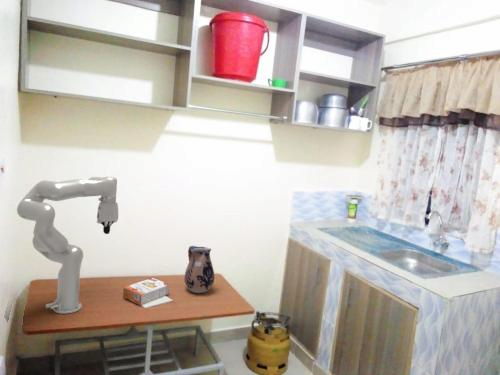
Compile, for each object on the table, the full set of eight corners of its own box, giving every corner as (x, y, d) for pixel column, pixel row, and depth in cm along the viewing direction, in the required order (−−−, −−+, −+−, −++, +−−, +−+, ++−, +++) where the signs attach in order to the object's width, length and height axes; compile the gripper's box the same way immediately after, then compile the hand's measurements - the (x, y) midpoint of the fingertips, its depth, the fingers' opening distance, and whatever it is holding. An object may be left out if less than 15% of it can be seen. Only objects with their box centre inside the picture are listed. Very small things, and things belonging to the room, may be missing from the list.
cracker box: (123, 286, 196) (152, 277, 214) (122, 297, 196) (151, 287, 214) (141, 294, 188) (170, 284, 206) (140, 305, 189) (169, 294, 207)
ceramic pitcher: (198, 299, 206) (202, 255, 203) (173, 287, 218) (176, 246, 215) (219, 291, 220) (223, 250, 217) (194, 280, 232) (197, 242, 229)
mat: (145, 308, 187) (145, 307, 187) (127, 295, 201) (127, 294, 200) (172, 301, 199) (172, 300, 199) (154, 289, 212) (154, 288, 212)
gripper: (97, 201, 189) (95, 236, 191) (124, 200, 200) (122, 233, 202) (91, 199, 194) (89, 233, 196) (118, 198, 205) (116, 230, 207)
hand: (106, 233), depth 199 cm, fingers closed
